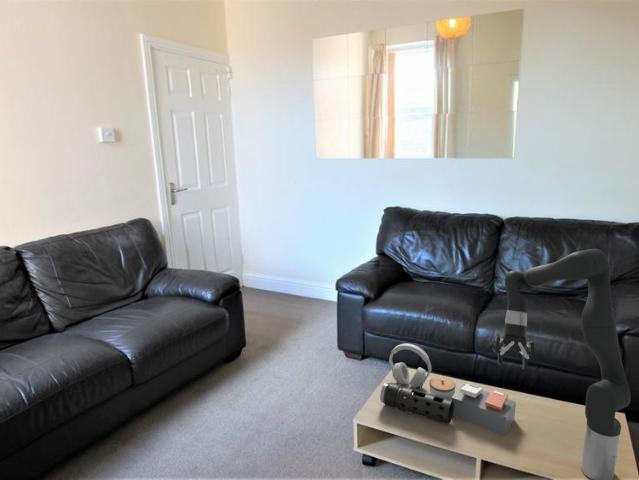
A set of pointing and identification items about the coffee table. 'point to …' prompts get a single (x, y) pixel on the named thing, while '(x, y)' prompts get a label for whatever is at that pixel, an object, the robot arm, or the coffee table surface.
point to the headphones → (401, 369)
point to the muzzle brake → (417, 402)
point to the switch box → (483, 412)
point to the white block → (471, 390)
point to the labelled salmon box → (496, 399)
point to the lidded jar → (442, 387)
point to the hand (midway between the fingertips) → (512, 367)
